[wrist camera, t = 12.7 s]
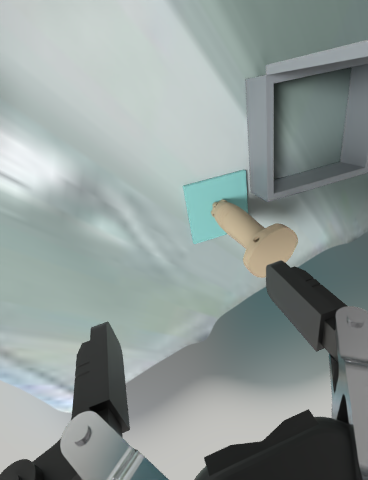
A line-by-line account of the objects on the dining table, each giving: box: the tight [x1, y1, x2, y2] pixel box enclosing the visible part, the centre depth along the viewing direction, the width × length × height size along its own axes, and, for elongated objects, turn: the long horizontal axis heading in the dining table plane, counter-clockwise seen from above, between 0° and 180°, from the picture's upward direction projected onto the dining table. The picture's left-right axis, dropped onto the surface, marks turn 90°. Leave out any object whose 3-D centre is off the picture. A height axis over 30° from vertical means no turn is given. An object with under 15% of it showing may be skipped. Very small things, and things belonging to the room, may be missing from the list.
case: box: [245, 40, 368, 202], centre depth 32 cm, size 17×19×19 cm
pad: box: [183, 170, 248, 244], centre depth 42 cm, size 10×10×1 cm
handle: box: [211, 199, 298, 278], centre depth 35 cm, size 5×6×15 cm
